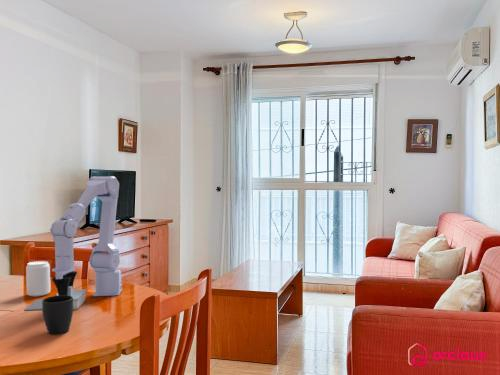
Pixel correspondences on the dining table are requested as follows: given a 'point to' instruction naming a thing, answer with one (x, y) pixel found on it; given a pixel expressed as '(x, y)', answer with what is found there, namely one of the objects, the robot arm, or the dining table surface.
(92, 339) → the dining table surface
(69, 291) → the lid
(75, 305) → the tub
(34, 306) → the mat
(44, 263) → the beverage can
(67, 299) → the mug
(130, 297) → the dining table surface
